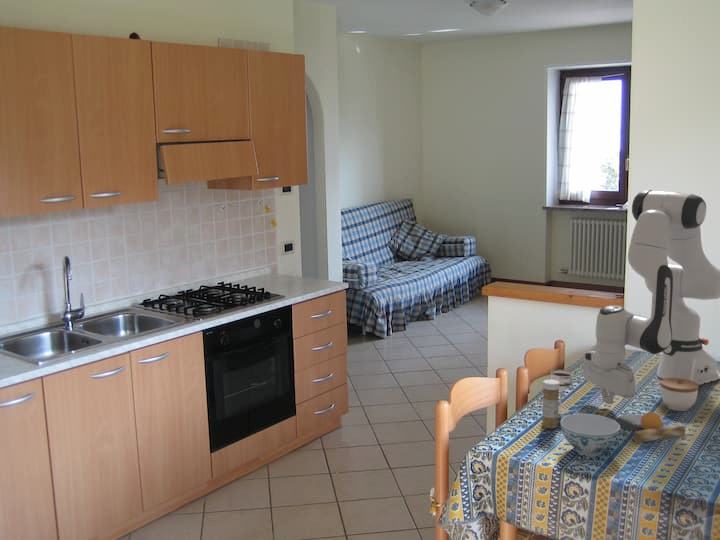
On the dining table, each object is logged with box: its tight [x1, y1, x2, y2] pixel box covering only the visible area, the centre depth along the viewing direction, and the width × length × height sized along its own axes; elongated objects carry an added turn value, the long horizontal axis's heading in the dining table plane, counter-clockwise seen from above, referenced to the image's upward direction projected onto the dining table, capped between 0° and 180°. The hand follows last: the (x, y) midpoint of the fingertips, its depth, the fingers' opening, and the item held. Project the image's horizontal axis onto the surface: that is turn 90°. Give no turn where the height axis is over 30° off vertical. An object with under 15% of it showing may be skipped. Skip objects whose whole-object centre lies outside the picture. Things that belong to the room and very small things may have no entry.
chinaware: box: [560, 413, 621, 457], centre depth 204 cm, size 15×15×8 cm
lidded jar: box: [660, 378, 700, 412], centre depth 236 cm, size 11×11×9 cm
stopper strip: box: [633, 422, 686, 444], centre depth 213 cm, size 16×2×2 cm, turn 111°
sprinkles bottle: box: [541, 378, 560, 429], centre depth 221 cm, size 5×5×14 cm
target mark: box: [614, 414, 664, 432], centre depth 224 cm, size 13×13×1 cm
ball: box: [641, 411, 663, 430], centre depth 217 cm, size 6×6×6 cm
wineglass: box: [549, 369, 574, 415], centre depth 233 cm, size 7×7×12 cm
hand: (607, 402), depth 236 cm, fingers closed
